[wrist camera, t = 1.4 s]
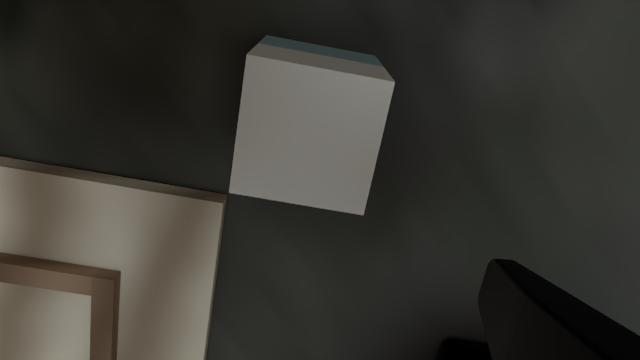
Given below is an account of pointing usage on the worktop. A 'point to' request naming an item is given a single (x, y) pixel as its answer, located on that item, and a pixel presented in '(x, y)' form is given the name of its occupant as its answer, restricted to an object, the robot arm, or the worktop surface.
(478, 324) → the worktop surface
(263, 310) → the worktop surface
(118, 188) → the seating plate
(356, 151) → the block stack
